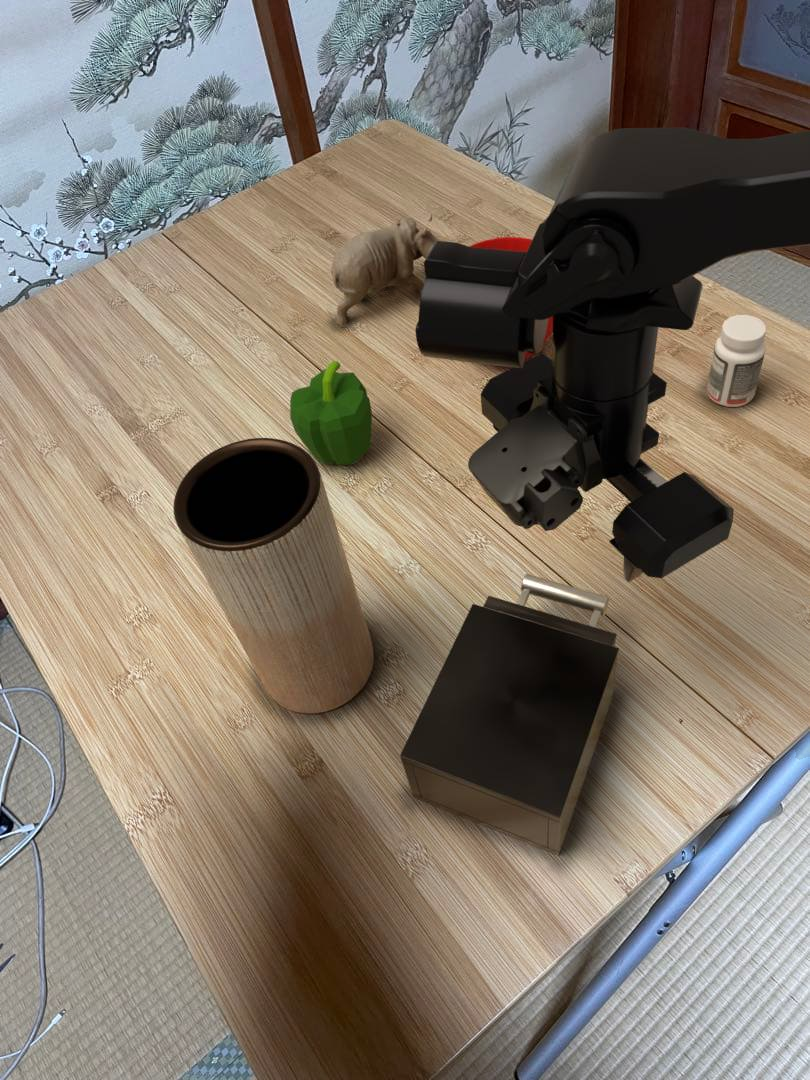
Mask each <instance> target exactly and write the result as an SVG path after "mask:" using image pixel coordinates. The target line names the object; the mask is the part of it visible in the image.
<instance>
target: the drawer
mask: <svg viewBox="0 0 810 1080" xmlns="http://www.w3.org/2000/svg"><path fill="white" fill-rule="evenodd" d="M520 592H521V593H520V595H519V597H518V600H517V601H516V602H512V601H508V600H505V599H501V598H499V597H495V596H491V595H487V598H486V600H485V602H484V604H483V606H482V607H485V608H488V609H492V610H495V611H498V612H502V613H505V614H508V615H511V616H515V617H518V618H521V619H525V620H528V621H531V622H534V623H538V624H541V625H544V626H548V627H551V628H554V629H557V630H561V631H564V632H567V633H571V634H574V635H577V636H580V637H584V638H587V639H590V640H594V641H597V642H600V643H603V644H607V645H610V646H613V647H616V644H617V643H616V642H617V637H618V636H617V633H616V632H612V631H609V630H605V629H602V628H599V627H598V624H599V622H600V619H601V617H604V616H605V615H606V613H607V610H608V607H609V604H610V603H609V602H610V597H609V596H608V595H604V594H600V593H596V592H594V591H590V590H586V589H582V588H579V587H575V586H573V585H569V584H565V583H562V582H558V581H554V580H551V579H547V578H544V577H540V576H537V575H533V574H529V573H525V575H524V576H523V579H522V582H521V585H520ZM530 596H533V597H537V598H539V599H540V598H541V599H543V600H547V601H550V602H554V603H557V604H561V605H565V606H567V607H571V608H575V609H578V610H581V611H585V612H588V613H592V614H591V617H590V619H589V622H588V624H585V623H582V622H578V621H576V620H572V619H569V618H566V617H562V616H559V615H555V614H551V613H550V612H549V613H548V612H545V611H542V610H538V609H535V608H532V607H528V606H526V604H527V602H528V600H529V597H530Z"/></svg>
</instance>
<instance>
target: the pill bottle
mask: <svg viewBox="0 0 810 1080" xmlns="http://www.w3.org/2000/svg"><path fill="white" fill-rule="evenodd" d="M766 333H767V326H766V324H765V323H764V322H763V320H761V319H760V318H758V317H756V316H754V315H750V314H737V315H733V316H730V317H728V318H726V319H725V320H724V321H723V323H722V326H721V329H720V334H719V336H718V338H717V339H716V341H715V344H714V346H713V347H714V348H713V352H712V353H713V354H712V359H711V365H710V370H709V375H708V379H707V384H706V393H707V395H708V397H709V399H710V400H711V401H713V402H714V403H716V404H718V405H720V406H722V407H723V406H724V407H726V408H727V407H728V408H737V407H743V406H744V405H747V404H748V403H749V402H751V401H752V400H753V399H754V397H755V395H756V391H757V389H758V388H757V387H758V384H759V383H758V382H759V379H760V374H761V371H762V367H763V363H764V359H765V355H766V350H767V349H766V342H765V337H766Z"/></svg>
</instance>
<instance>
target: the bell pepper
mask: <svg viewBox="0 0 810 1080" xmlns="http://www.w3.org/2000/svg"><path fill="white" fill-rule="evenodd" d="M340 368H341V364H340V362H339V361H338V360H332V361H331V362H329V364H328V365H327V367H326V369H324V370H322V371H320V372H319V373H318V374H316V375H314V376H313V377H312V378H311V379H310V382H309V386H305V387H301V388H297V389H295V390H293V391H292V392H291V395H290V399H289V404H290V405H289V408H290V409H289V411H290V412H289V415H290V416H289V417H290V421H291V424H292V427H293V429H294V432H295V434H296V435H297V437H298V438H299V440H300V441H301V442H302V443H303V445H304V447H306V449H308V451H309V452H310V453H311V454H312V456H313V457H314V458H315V459H316V460H317V461H319V462H321V463H322V464H326V465H331V464H333V463H336V464H338V465H341V466H342V465H344V466H352V465H353V464H354V463H356V462H359V461H360V460H362V458H364V456H365V454H366V453H367V452H368V450H369V449H370V447H371V444H372V443H371V442H372V435H373V434H372V433H373V432H372V431H373V430H372V429H373V411H372V405H371V401H370V397H369V396H368V393H367V392H368V391H367V389H366V388H365V386H364V385H363V383H362V382H361V380H360V379H359V377H358V376H357V375H356V374H355V373H354V372H352V371H351V372H338V371H339V369H340Z"/></svg>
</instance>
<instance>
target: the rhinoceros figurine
mask: <svg viewBox="0 0 810 1080" xmlns="http://www.w3.org/2000/svg"><path fill="white" fill-rule="evenodd" d="M432 221H433V214H430V215H429V216H428V219H427V222H428V223H431V222H432ZM394 222H395V223H392V224H391V225H390V226H387V227H383V228H379V229H376V230H375V229H374V230H370V231H365V232H362V233H359V234H356V235H354V236H353V237H352V238H350V239H348V240H347V241H346V242H344V243H343V244H341V246H340V247H339V248H338V250H337V251H336V252H335V254H334V256H333V260H332V264H331V270H330V273H331V277H332V282H333V286H334V287H335V288H336V289H338V290H339V291H340V292H341V293H343V295H344V297H343V298H342V300H341V301H340V302H339V303H338V304H337V308H336V315H335V320H336V324H337V325H339V326H340V328H344V327H347V326H349V325H350V324H351V323H352V320H351V319H350V316H349V315H348V312H349V310H350V309H352V308H353V307H354V306H356V305H358V304H359V303H363V302H366V301H367V297H368V296H369V295H368V294H369V293H372V292H375V291H379V290H382V289H384V288H387V287H403V288H409V287H413V288H416V290H418V296H419V297H418V298H419V299H421V294H422V289H423V285H424V281H423V279H421V278H420V277H419V276H417V275H415V273H414V270H415V267H414V261H417V260H418V259H421V258H422V257H423V258H424V260H425V259H426V257H427V256H428V254H429V252H430V251H431V249H432V247H433V245H434V244H435V243H436V242H437V241H442V240H440V239H439V238H437V236H435V235H434V234H433V233H432V232H431V230H429V229H428V226H427V225H425V227H424V228H422V227H419V228H418V227H417V221H415V219H414V218H412V217H404V218H402V219H400V220H399V219H398V220H395V221H394Z"/></svg>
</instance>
